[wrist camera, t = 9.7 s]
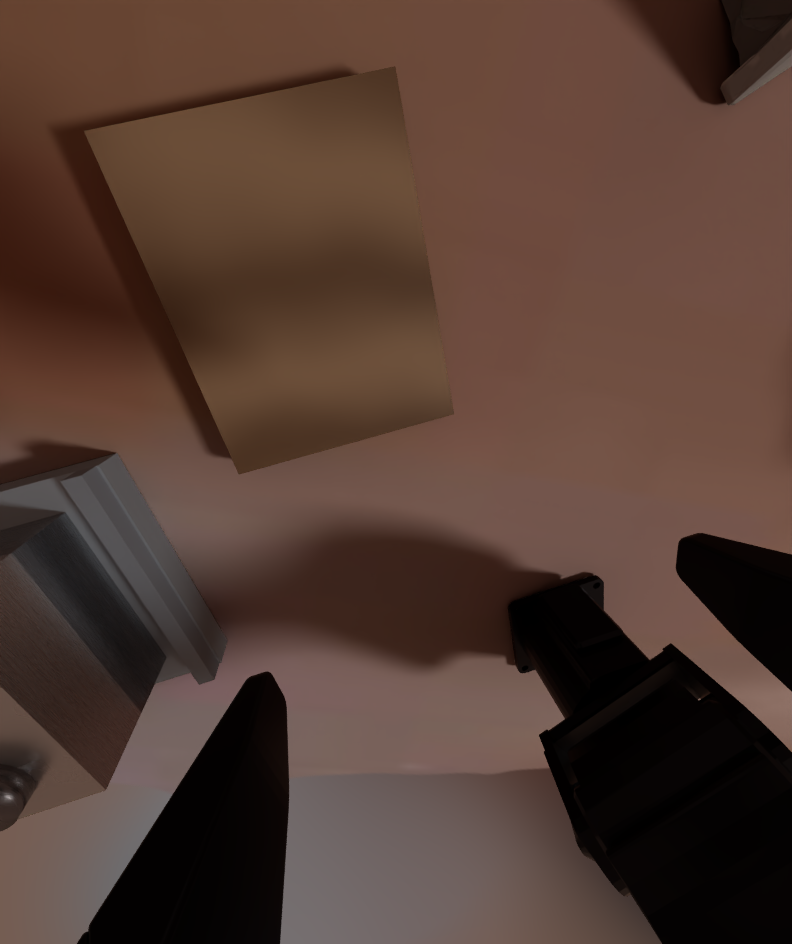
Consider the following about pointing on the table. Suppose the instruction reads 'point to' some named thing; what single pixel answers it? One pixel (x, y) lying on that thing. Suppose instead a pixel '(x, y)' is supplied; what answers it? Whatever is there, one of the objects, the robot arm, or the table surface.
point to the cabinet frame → (126, 556)
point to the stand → (288, 261)
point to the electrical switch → (758, 44)
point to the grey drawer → (64, 669)
